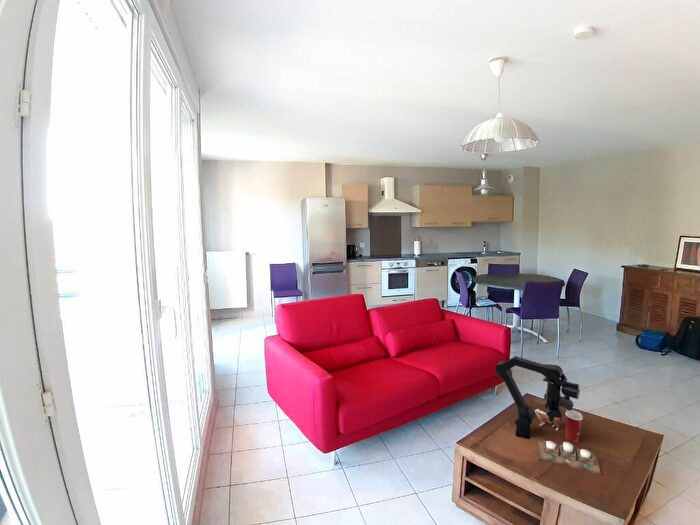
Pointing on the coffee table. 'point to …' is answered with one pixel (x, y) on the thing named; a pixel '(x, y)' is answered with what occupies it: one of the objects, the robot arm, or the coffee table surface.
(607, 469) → the coffee table surface
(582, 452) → the button right
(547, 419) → the bull figurine
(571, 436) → the paper cup
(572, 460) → the board
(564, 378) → the robot arm
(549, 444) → the button left
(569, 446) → the button mid
